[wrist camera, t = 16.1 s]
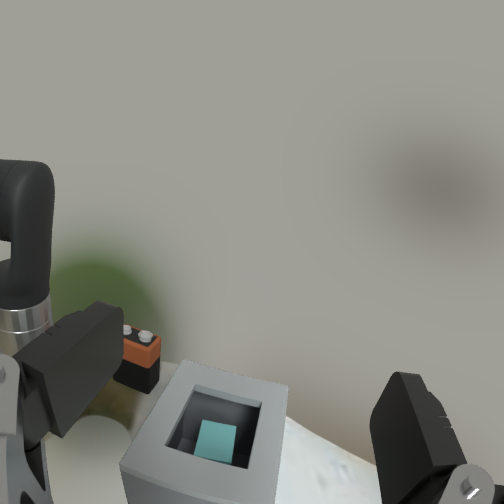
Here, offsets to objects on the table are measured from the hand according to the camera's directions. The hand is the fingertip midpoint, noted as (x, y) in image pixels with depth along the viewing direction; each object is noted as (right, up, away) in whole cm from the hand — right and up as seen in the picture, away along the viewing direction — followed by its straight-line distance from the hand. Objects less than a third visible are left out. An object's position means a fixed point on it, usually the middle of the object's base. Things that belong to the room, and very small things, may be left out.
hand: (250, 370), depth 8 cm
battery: (-19, -18, +38) cm, 46 cm away
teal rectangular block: (-5, -24, +21) cm, 33 cm away
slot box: (-6, -25, +21) cm, 33 cm away
